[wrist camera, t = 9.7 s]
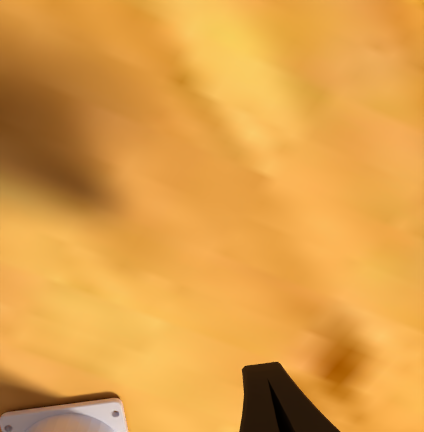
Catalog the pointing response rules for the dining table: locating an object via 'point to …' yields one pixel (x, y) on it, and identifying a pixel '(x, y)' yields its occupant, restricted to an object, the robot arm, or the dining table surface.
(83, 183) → the dining table surface
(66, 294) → the dining table surface
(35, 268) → the dining table surface
